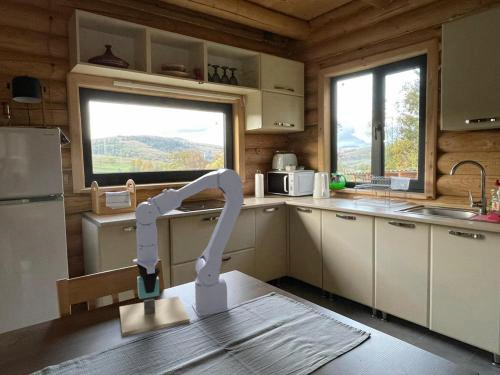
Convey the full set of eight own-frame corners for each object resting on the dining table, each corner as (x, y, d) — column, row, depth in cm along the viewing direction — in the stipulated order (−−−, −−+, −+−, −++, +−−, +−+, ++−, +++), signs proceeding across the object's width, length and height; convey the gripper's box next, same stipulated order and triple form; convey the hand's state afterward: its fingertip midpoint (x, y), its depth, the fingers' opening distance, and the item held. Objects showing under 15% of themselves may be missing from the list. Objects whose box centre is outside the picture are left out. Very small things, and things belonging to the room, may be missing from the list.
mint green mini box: (157, 289, 100) (156, 273, 100) (159, 295, 96) (158, 278, 96) (137, 292, 98) (137, 276, 98) (139, 299, 94) (138, 281, 94)
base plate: (178, 299, 109) (177, 284, 109) (189, 322, 95) (189, 305, 94) (119, 309, 102) (118, 294, 102) (122, 336, 88) (121, 318, 87)
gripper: (130, 239, 101) (132, 282, 102) (134, 252, 88) (136, 301, 89) (154, 236, 104) (156, 278, 105) (162, 249, 90) (163, 297, 92)
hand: (148, 289), depth 97 cm, fingers closed on mint green mini box, 4 cm apart
